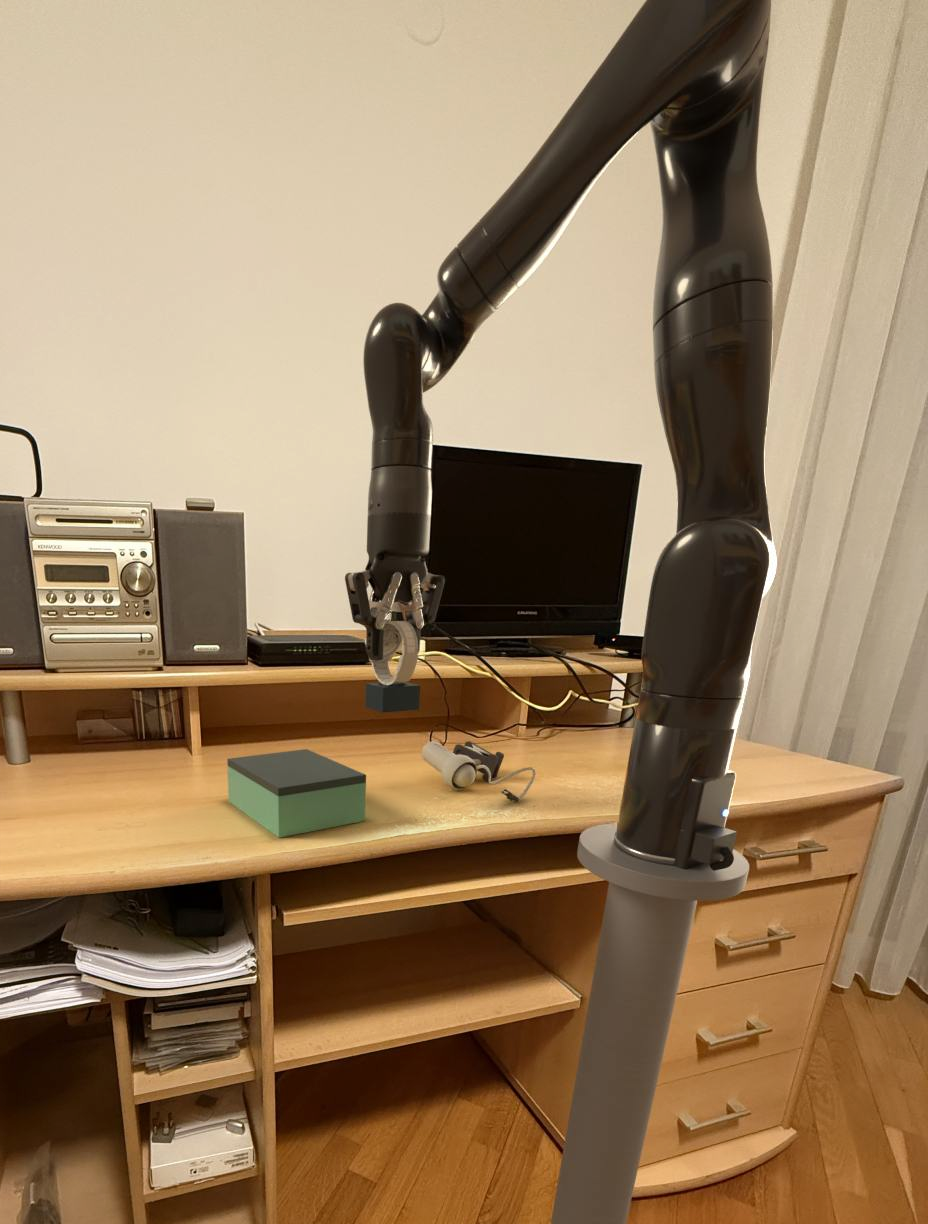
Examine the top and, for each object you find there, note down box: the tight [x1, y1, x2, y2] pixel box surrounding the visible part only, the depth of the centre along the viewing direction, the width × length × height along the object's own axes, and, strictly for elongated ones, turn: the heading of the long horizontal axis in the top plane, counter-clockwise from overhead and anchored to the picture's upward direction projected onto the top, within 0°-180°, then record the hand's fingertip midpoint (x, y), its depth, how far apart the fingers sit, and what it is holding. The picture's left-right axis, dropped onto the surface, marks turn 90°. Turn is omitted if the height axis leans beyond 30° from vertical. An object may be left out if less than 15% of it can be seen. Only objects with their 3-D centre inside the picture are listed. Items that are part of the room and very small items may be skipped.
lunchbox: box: [226, 748, 367, 839], centre depth 81 cm, size 15×12×6 cm
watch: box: [364, 620, 421, 714], centre depth 81 cm, size 6×8×11 cm
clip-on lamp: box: [421, 740, 536, 803], centre depth 92 cm, size 12×6×18 cm
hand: (393, 658), depth 81 cm, fingers closed on watch, 4 cm apart
